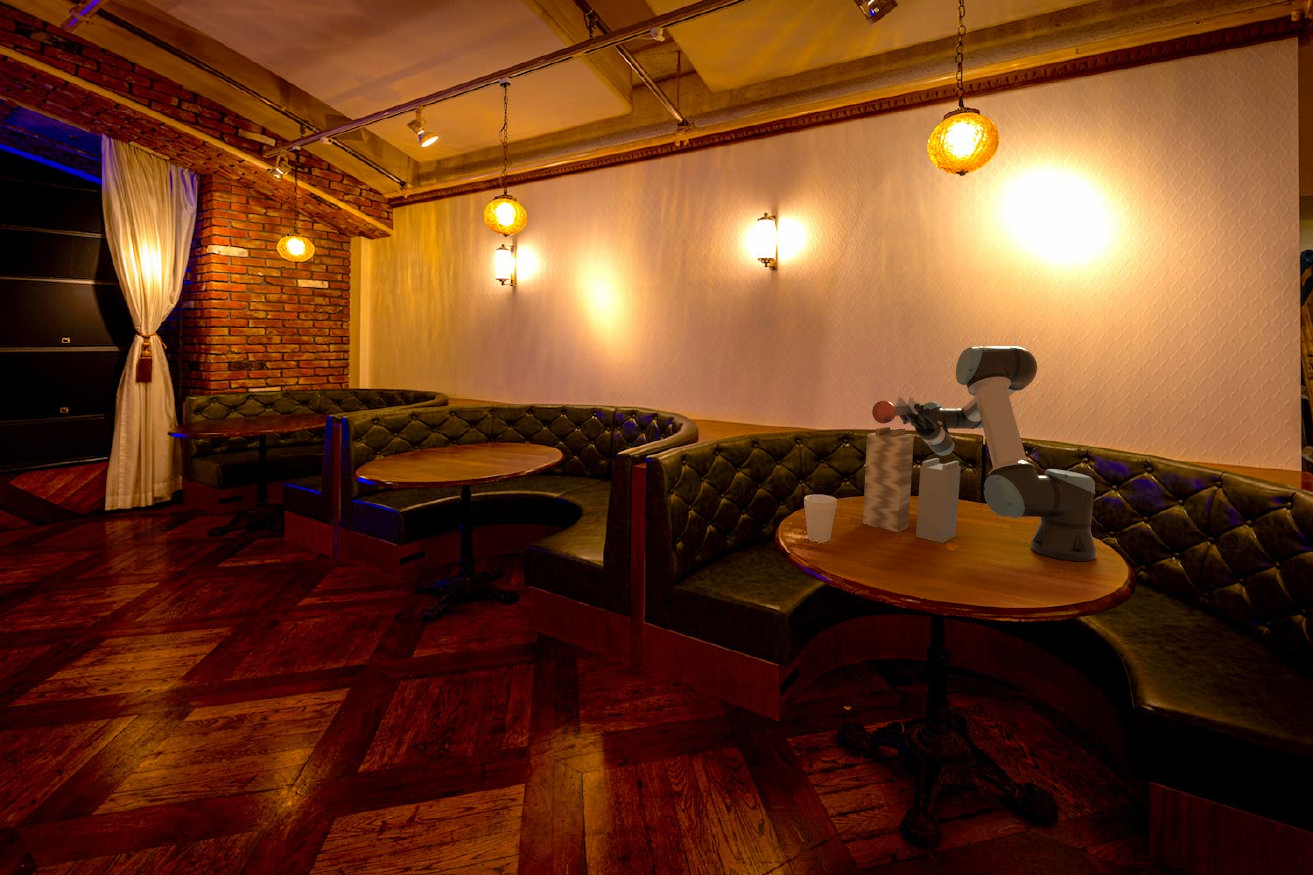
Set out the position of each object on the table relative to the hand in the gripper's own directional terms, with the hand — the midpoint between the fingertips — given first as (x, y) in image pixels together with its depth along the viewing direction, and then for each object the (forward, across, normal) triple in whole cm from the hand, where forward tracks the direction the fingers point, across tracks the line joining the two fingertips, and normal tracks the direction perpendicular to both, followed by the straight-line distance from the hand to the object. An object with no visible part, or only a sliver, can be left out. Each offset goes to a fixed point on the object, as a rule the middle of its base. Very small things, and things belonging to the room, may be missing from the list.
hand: (903, 400), depth 193 cm
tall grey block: (-14, -16, -39) cm, 44 cm away
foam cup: (+11, +6, -54) cm, 55 cm away
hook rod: (-1, 0, -7) cm, 7 cm away
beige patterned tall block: (-13, 0, -39) cm, 41 cm away
